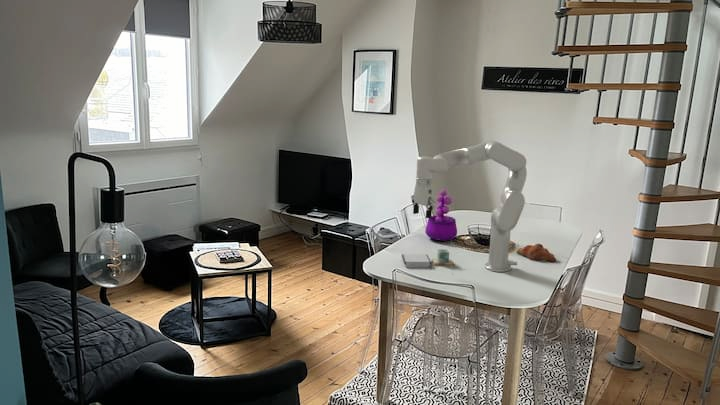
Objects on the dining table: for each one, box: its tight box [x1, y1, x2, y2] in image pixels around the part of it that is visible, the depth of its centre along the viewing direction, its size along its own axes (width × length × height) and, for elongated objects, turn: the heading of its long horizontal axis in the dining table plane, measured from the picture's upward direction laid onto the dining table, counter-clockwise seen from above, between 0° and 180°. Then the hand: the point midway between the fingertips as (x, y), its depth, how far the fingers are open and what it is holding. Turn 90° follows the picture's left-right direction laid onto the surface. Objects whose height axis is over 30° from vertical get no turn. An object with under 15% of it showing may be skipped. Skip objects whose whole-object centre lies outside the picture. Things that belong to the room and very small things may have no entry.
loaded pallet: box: [431, 248, 455, 267], centre depth 272 cm, size 10×6×7 cm, turn 92°
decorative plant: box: [424, 189, 458, 242], centre depth 311 cm, size 19×18×30 cm
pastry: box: [516, 243, 557, 263], centre depth 284 cm, size 17×15×8 cm
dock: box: [401, 253, 432, 268], centre depth 272 cm, size 14×12×3 cm
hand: (422, 215), depth 262 cm, fingers open, 9 cm apart
